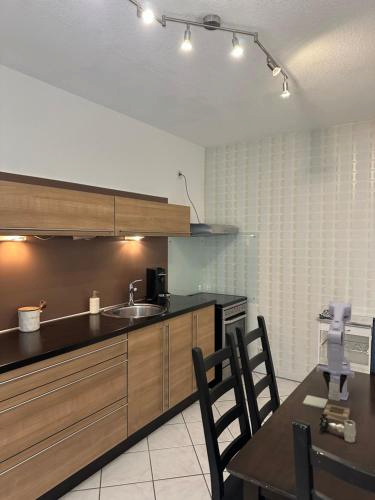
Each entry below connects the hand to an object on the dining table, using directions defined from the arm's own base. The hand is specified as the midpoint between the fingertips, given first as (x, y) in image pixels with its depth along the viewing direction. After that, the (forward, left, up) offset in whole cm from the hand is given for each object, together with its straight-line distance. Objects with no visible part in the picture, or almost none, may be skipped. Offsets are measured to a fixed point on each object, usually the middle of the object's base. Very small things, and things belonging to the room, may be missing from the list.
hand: (334, 390), depth 147 cm
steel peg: (0, 0, -3) cm, 3 cm away
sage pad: (-7, -9, -10) cm, 15 cm away
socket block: (+1, +1, -10) cm, 10 cm away
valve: (+18, +4, -10) cm, 21 cm away
